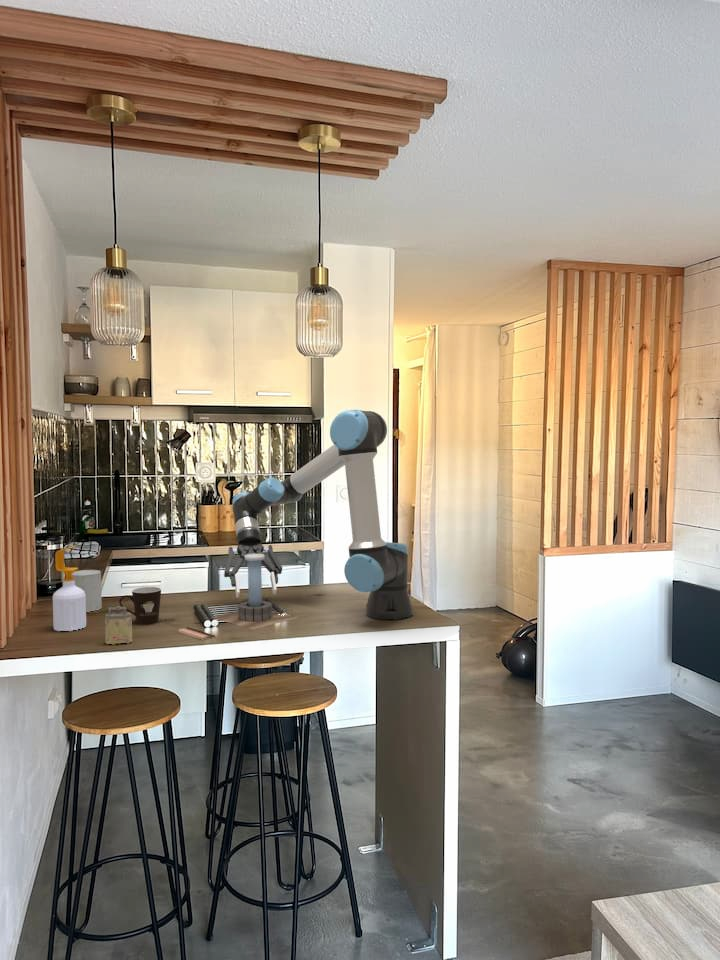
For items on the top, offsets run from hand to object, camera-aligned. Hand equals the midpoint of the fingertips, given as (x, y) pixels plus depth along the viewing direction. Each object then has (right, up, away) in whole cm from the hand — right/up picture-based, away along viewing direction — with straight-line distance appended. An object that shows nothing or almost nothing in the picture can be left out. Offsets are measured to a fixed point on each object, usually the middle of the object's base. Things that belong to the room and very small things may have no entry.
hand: (256, 593), depth 212 cm
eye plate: (-1, -9, +3) cm, 10 cm away
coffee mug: (-36, -10, +4) cm, 37 cm away
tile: (-13, -10, -7) cm, 18 cm away
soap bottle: (-55, -10, -2) cm, 56 cm away
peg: (-1, -8, +3) cm, 9 cm away
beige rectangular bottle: (-35, -11, -18) cm, 41 cm away
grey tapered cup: (-59, -9, +20) cm, 63 cm away
